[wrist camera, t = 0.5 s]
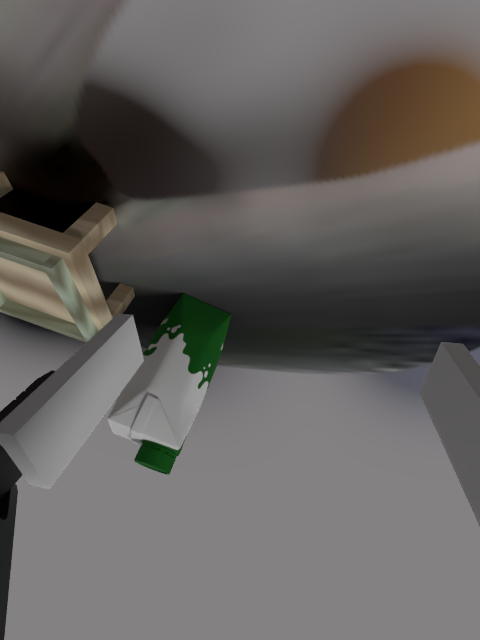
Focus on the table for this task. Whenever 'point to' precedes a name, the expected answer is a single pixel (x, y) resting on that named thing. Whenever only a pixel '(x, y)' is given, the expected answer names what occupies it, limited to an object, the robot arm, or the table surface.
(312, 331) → the table surface
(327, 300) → the table surface
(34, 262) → the stool
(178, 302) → the milk carton
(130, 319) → the robot arm
